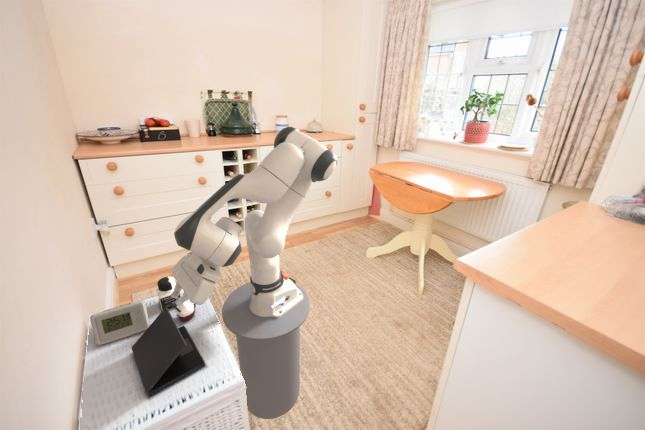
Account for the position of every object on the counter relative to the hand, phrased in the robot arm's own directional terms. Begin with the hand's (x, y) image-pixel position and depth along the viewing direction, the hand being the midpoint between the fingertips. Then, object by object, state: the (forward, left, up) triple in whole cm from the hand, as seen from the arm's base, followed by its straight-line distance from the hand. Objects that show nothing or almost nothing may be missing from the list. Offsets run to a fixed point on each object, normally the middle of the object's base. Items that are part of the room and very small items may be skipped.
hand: (175, 300), depth 90 cm
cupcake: (-5, -15, -22) cm, 27 cm away
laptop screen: (+7, 0, -14) cm, 16 cm away
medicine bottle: (-3, -27, -22) cm, 35 cm away
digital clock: (+14, -21, -22) cm, 33 cm away
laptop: (+5, 0, -21) cm, 22 cm away
